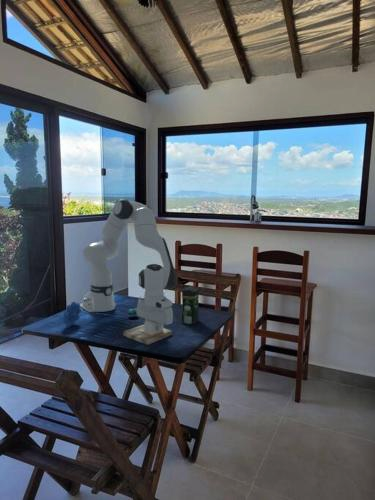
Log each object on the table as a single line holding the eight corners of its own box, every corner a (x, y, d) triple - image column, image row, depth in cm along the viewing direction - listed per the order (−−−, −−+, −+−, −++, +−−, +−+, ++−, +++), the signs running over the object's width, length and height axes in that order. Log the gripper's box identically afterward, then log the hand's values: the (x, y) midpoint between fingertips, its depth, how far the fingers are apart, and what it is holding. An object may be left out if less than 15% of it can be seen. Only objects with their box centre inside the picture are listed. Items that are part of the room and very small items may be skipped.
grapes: (74, 320, 186) (73, 298, 184) (84, 322, 183) (84, 300, 181) (57, 327, 176) (56, 303, 174) (67, 330, 173) (66, 305, 171)
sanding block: (144, 334, 164) (144, 321, 163) (156, 329, 170) (156, 317, 169) (151, 336, 161) (151, 323, 160) (163, 331, 167) (163, 319, 166)
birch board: (123, 335, 167) (123, 331, 167) (147, 326, 179) (147, 322, 179) (147, 344, 157) (147, 340, 157) (171, 334, 169) (171, 330, 169)
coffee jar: (186, 318, 194) (187, 284, 191) (200, 320, 191) (201, 286, 188) (178, 323, 185) (179, 288, 183) (192, 326, 182) (193, 290, 179)
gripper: (133, 297, 167) (133, 325, 169) (165, 306, 155) (165, 336, 156) (143, 294, 172) (143, 322, 174) (175, 303, 159) (174, 332, 161)
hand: (153, 329), depth 165 cm, fingers closed on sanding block, 4 cm apart
